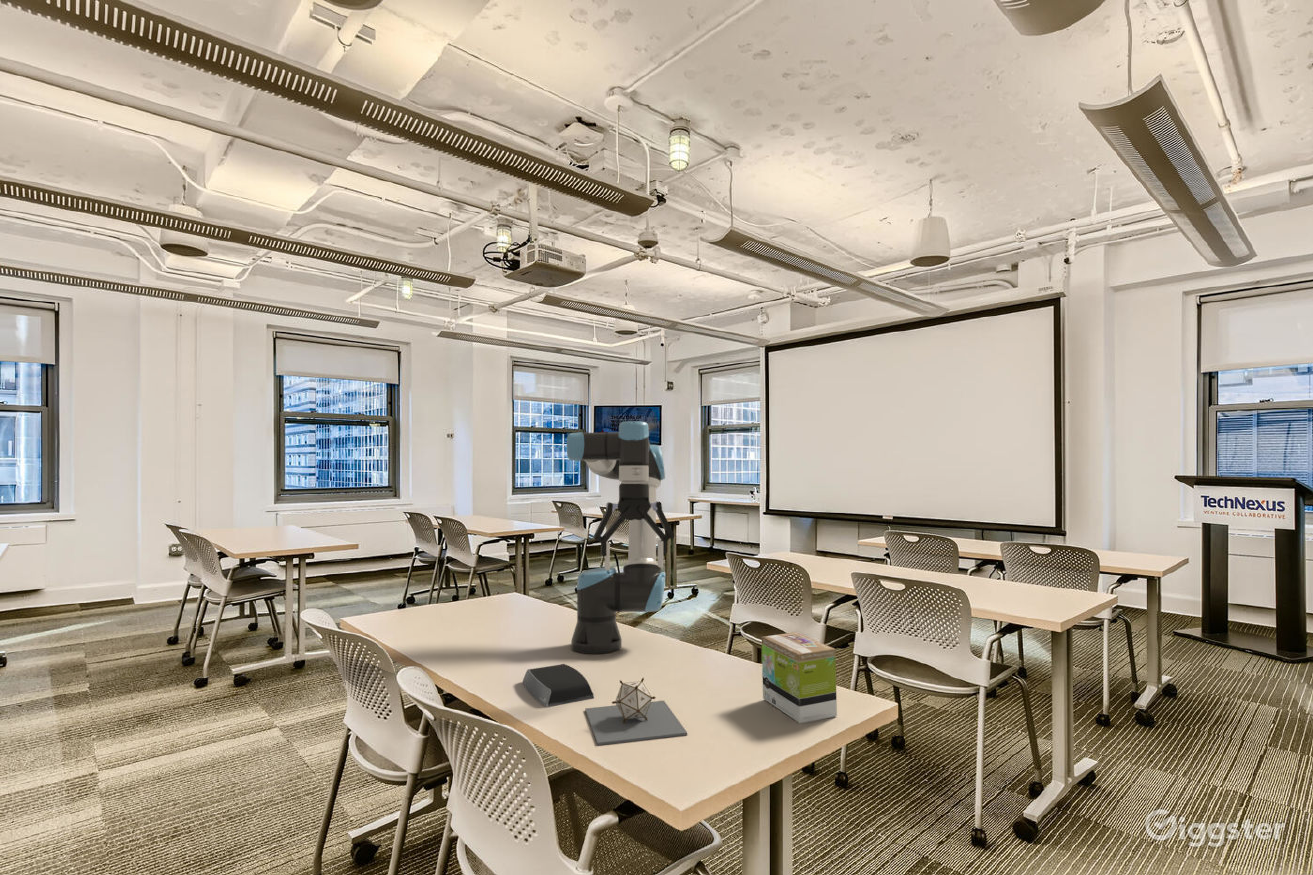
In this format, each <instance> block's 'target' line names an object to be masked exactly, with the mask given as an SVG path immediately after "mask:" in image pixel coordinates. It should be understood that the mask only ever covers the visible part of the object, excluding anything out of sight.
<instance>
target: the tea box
mask: <svg viewBox="0 0 1313 875" xmlns="http://www.w3.org/2000/svg"><path fill="white" fill-rule="evenodd" d="M836 661H837V660H836V648H834V647H831V646H829V645H827V644H825V643H822V642H820V641H817V640H815V639H814V638H810V637H809V636H807V635H804V634H802V633H800V632H797V631H794V632H788V633H787V632H786V633H780V634H779V633H778V634H774V635H773V634H772V635H768V636H767V635H765V636H763V635H762V636H761V666H762V669H761V670H762V672H761V674H762V699H763V700H764V701H766V702H768V703H770V704H771V705H773V707H775V708H777V709H778V710H780V711H781V712H782V713H784V714H786V715H787V716H788V717H790V718H791V719H793V720H794V721H795V722H797V723H798V724H806V723H811V722H815V721H821V720H824V719H829V718H836V717H837V716H838V709H837V708H838V707H837V706H838V704H837V703H838V702H837V664H836Z"/></svg>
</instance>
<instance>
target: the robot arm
mask: <svg viewBox="0 0 1313 875" xmlns="http://www.w3.org/2000/svg"><path fill="white" fill-rule="evenodd" d="M649 436H650V432H649V424H648V423H647V422H646V421H640V420H639V421H638V420H637V421H635V420H634V421H633V420H631V421H628V420H627V421H622V422H620V424H619V426H618V432H611V431H610V432H583V431H578V432H571V433H569V434H568V435H567V438H566V455H567V458H568V459H569V461H577V462H580V461H582V462H583V461H584V462H585V463H586V466H587V467H588V470H590V471H591V472H592V473H593V474H595V475H597V476H599V477H603V478H606V479H610V480H614V481H615V480H617V481H619V482H621V483H619V485H618V502H617V503H616V502H615V503H612V502H609V501H608V502H607V503H606V505H605V511H604V513H603V516H602V518H601V520H600V522H599V524H598V527H597V528H596V530H595V533H594V534H593V539H594V541H597V542H600V555H601V556H602V557H604V567H603V566H602V567H597V568H591V569H588V570H585V571H581V572H580V574H578V576H577V583H576V584H577V587H576V593H577V596H576V598H577V599H576V600H577V601H576V603H577V605H576V606H577V607H576V610H577V611H576V614H577V615H576V617H577V619H576V624H575V627H574V631H573V635H572V638H571V642H570V643H571V645H570V646H571V648H570V649H571V650H572V651H574V652H577V653H579V654H580V653H581V654H589V655H590V654H594V655H596V654H607V653H614V652H616V651H619V649H621V648H622V644H623V643H622V642H623V641H622V636H621V634H620V630H619V626H618V624H617V620H616V619H617V614H616V613H640V612H641V613H649V612H650V613H651V612H652V613H653V612H658V611H660V610H661V609H662V606H663V601H664V592H665V584H666V572H664V571H662V568H664V554H666V555H667V553H668V540H671V539H674V537H675V533H674V532H673V529H672V528H671V525H670V523H669V522H668V518H666V515H665V514H664V511H663V505H662V502H660V501H658V500H657V489H658V488H659V487H661V483H662V482H661V481H663V480H665V478H666V473H665V463H664V457H663V456H664V455H663V452H662V447H660V446H659V445H658V444H651V442H650V438H649ZM616 509H617V510H618V511H619V513H620V514H619V515H618V516H617V517H616V519H615V520H614V521H613V522H612V524H611V525H610V526H609V528H608V529H607V530H606V531H605V532H604V530H605V528H606V526H607V524H608V522H609V521H610V519H611V518H610V517H611V516H612V514H613V512H615V510H616ZM657 517H658V519H659V521H660V524H661V525H662V527H663V529H664V531H662V530H661V528H660V527H659V526H658V525H657ZM625 520H627V521H628V555H627V556H628V557H627V558H628V560H627V562H626V563H625V564H624V565H623V567H622V569H623V570H622V571H621V572H617V570H616V568H615V567H613V566H611V563H610V562H611V558H610V557H611V544H610V542H609V539H610V538H611V537H612V536H613V534H614V533H615V532H616V531H617V530H618V528H619V527H620V526H621V525H622V523H623V522H624V521H625ZM603 532H604V534H603ZM657 536H658V538H659V539H660V540H659V539H658V540H657Z"/></svg>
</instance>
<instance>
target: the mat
mask: <svg viewBox="0 0 1313 875" xmlns="http://www.w3.org/2000/svg"><path fill="white" fill-rule="evenodd" d="M584 709H585V710H584V711H585V713H586V716H587V719H588V722H589V725H590V728H591V730H592V733H593V736H594V738H595V741H596V745H597V746H605V745H613V744H614V745H615V744H624V743H632V742H641V741H649V740H656V739H666V738H674V737H682V736H688V732H687V730H686V729H685V727H684V726H683V724H681V722H680V720H679V719H678V718H677V716H676V715H675V714H674V713H673V711H672V709H671V708H670V707H669V706H668V704H667V703H666V701H665V700H656V701H651V703H650V706H649V708H648V711H647V714H646V717H647V720H648V721H647V720H645V718H635V719H627V720H625V723H623V720H624V718H623V716H622V714H621V712H620V710H619V709H618V707H617V705H616V704H613V705H607V706H606V705H603V706H598V707H597V706H596V707H595V706H594V707H587V708H584Z"/></svg>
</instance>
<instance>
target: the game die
mask: <svg viewBox="0 0 1313 875" xmlns="http://www.w3.org/2000/svg"><path fill="white" fill-rule="evenodd" d="M644 680H645V678H644V677H642V678H641V680H639V681H630V682H623V681H622V679H620V680H619V683H620V684H621V685H620V688H619V690H618V693H617V695H616V698H615V700H614V701H612V702H611V704H612V705H617V707H618V709H619V710H620V712H621V714H622V716H623V718H624V720H623V723H625V720H627V719H635V718H645V720H647V717H646V714H647V711H648V708H649V706H650V703H651V702H652V700H655V699H656V698H657V697H656V696H652V695H651V693H650V692H649V690H648V689H647V687H646V686H645V684H644ZM647 721H648V720H647Z"/></svg>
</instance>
